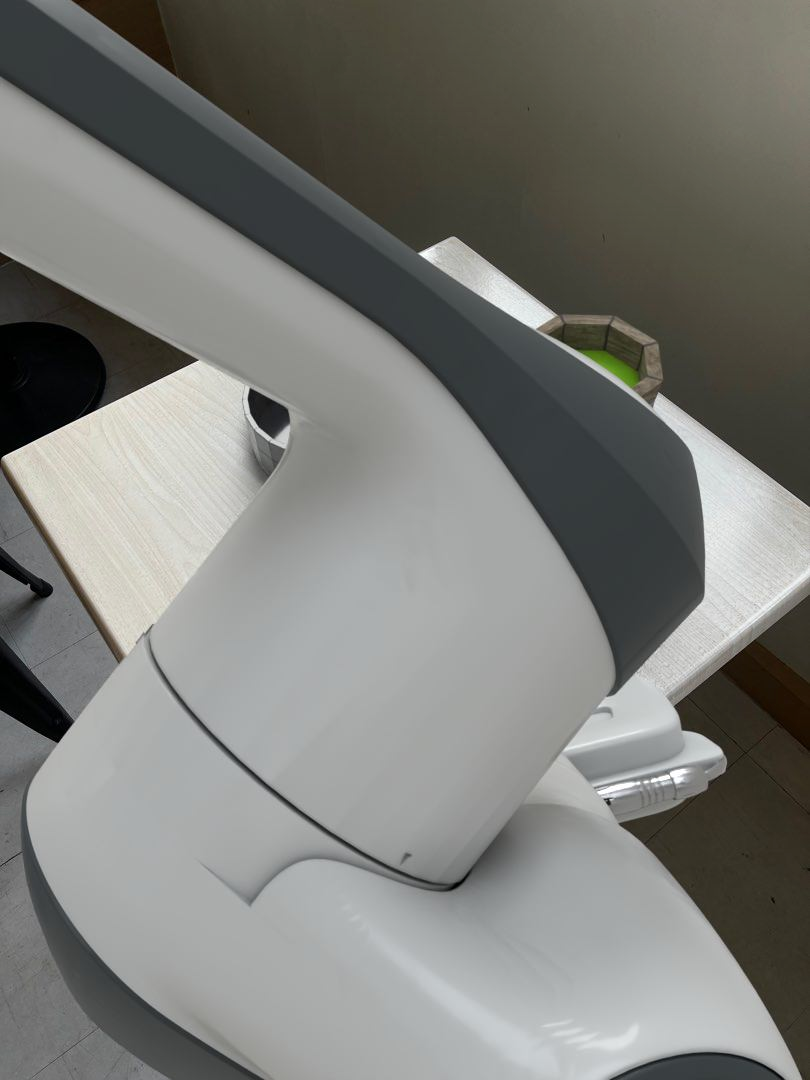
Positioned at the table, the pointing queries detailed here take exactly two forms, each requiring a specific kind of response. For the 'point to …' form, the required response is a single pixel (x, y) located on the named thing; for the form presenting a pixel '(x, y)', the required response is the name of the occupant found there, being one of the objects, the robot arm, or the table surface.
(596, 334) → the mug
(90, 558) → the table surface
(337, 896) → the robot arm
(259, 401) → the pan
